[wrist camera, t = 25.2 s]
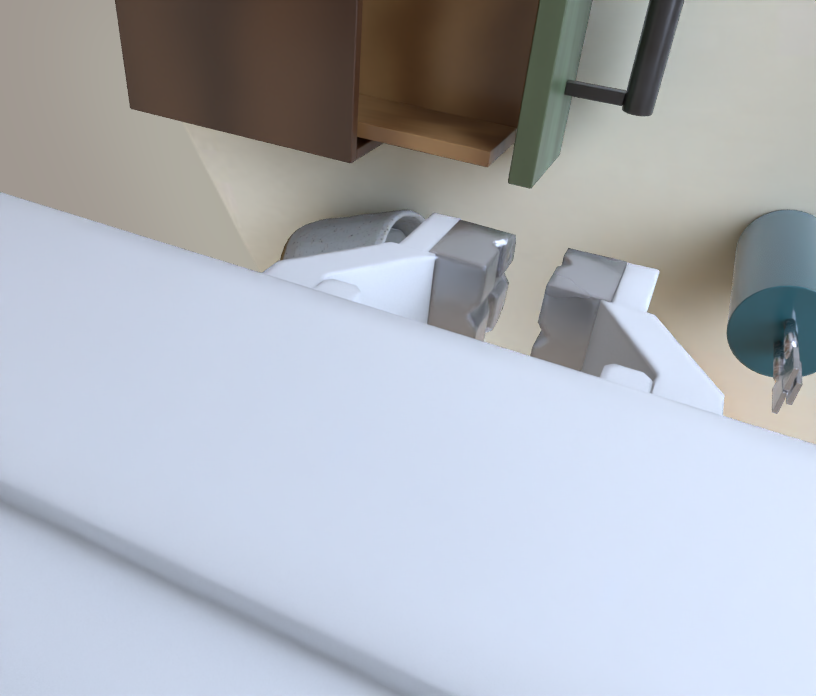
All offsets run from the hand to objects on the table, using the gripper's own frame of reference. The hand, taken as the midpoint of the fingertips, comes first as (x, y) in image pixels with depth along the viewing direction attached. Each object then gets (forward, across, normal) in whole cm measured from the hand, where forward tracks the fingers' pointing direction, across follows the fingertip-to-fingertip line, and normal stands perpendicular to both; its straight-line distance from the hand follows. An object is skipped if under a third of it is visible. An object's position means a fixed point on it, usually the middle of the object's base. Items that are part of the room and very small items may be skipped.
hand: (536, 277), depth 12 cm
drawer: (+26, +9, 0) cm, 28 cm away
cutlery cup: (+27, -8, +9) cm, 30 cm away
